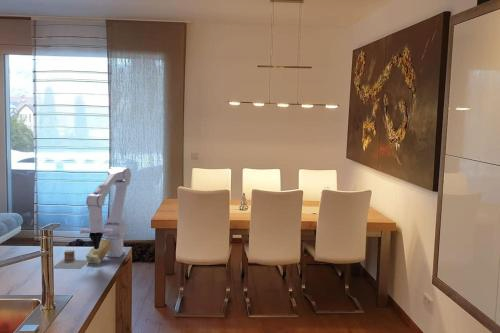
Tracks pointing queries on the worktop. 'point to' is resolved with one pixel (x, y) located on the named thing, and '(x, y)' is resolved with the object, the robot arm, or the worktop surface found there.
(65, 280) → the worktop surface
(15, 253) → the worktop surface
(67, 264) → the felt mat
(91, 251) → the skincare box
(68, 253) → the walnut cube
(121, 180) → the robot arm
